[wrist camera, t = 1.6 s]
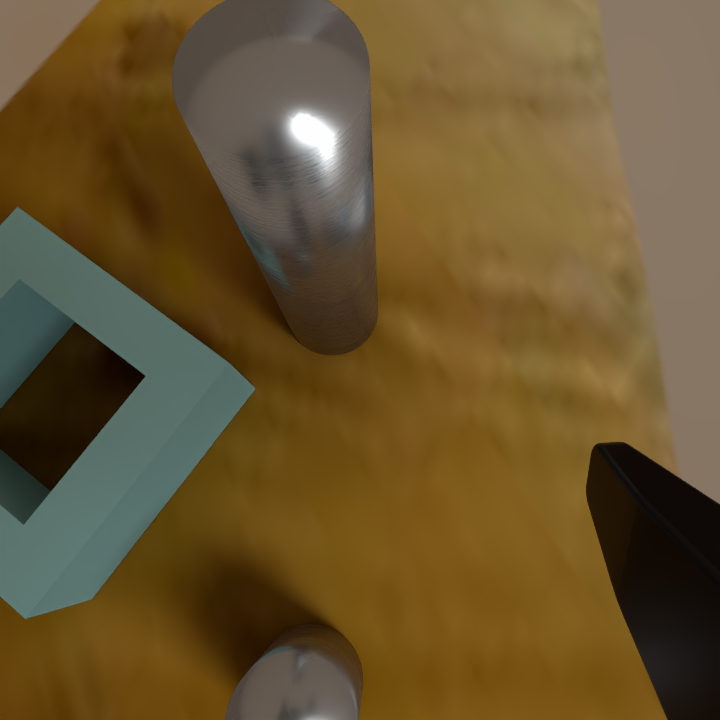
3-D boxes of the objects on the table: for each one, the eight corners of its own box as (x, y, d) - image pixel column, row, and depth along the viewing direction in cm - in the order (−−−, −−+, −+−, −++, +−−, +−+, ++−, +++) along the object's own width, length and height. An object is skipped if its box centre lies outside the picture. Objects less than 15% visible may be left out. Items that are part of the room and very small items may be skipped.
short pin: (321, 761, 20) (302, 832, 15) (238, 690, 20) (197, 739, 16) (383, 667, 20) (383, 710, 16) (301, 602, 21) (279, 625, 16)
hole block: (91, 599, 21) (25, 619, 17) (-89, 443, 23) (-187, 428, 19) (255, 388, 23) (228, 362, 19) (76, 255, 24) (17, 206, 20)
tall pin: (341, 373, 23) (287, 195, 10) (269, 321, 23) (131, 92, 11) (395, 301, 23) (409, 49, 11) (323, 252, 24) (254, -43, 11)
